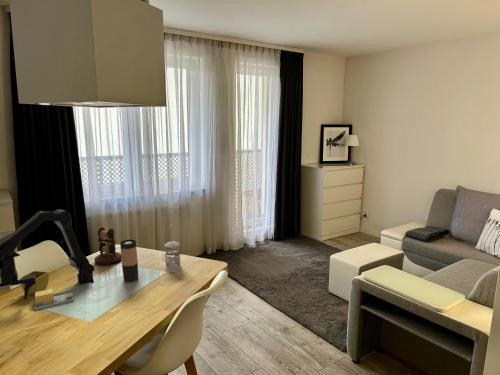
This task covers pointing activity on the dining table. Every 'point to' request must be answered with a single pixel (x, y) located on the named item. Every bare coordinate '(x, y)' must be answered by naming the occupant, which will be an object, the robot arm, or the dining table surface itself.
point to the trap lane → (57, 297)
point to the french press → (176, 259)
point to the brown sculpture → (107, 247)
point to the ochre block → (44, 296)
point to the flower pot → (37, 281)
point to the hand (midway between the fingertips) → (12, 302)
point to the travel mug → (129, 260)
